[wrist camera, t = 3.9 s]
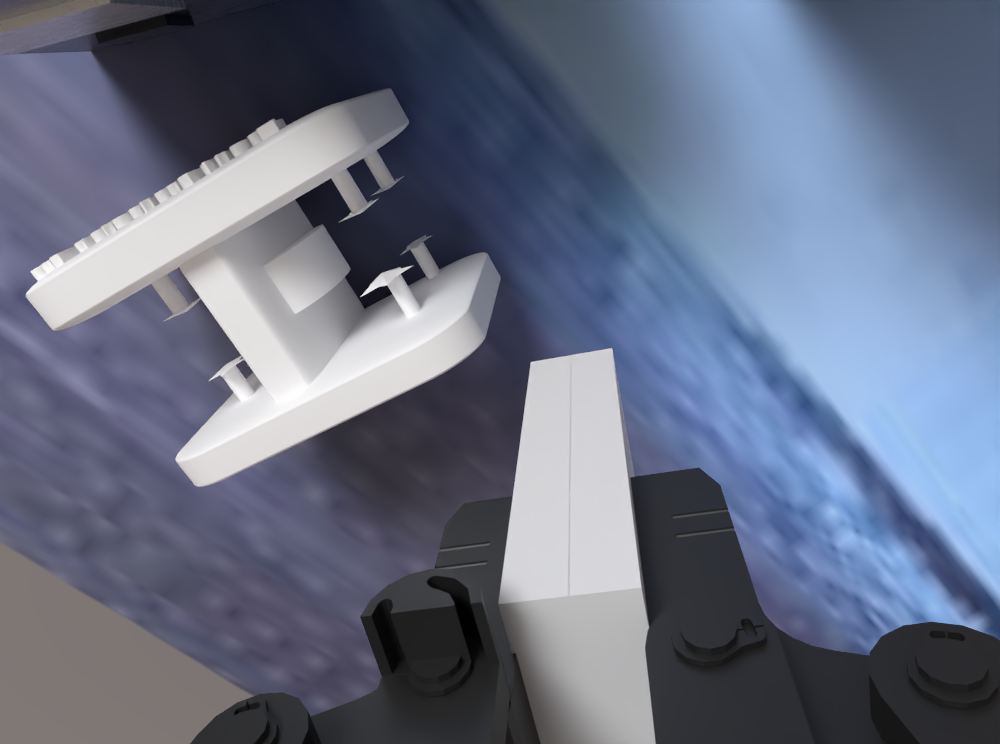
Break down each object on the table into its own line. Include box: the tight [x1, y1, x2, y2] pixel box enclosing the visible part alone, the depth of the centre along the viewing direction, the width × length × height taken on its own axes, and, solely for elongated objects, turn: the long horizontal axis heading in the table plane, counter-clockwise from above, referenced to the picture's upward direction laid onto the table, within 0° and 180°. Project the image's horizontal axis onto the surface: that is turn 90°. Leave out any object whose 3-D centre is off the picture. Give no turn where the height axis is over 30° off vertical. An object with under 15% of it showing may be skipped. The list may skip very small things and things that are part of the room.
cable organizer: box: [26, 88, 501, 487], centre depth 33 cm, size 15×11×12 cm
